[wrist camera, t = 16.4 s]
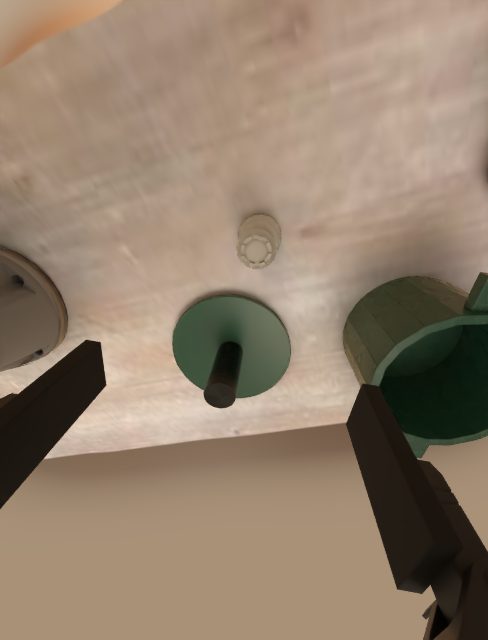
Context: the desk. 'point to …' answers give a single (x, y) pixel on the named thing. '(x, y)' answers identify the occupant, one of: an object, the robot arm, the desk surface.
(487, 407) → the pot
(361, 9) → the desk surface
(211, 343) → the lid
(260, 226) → the rook chess piece
